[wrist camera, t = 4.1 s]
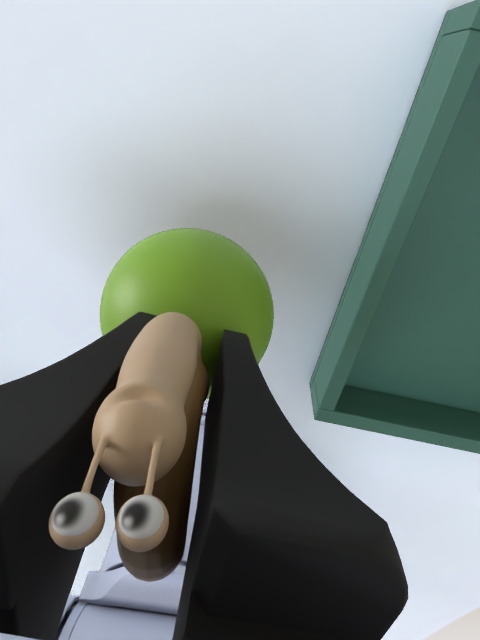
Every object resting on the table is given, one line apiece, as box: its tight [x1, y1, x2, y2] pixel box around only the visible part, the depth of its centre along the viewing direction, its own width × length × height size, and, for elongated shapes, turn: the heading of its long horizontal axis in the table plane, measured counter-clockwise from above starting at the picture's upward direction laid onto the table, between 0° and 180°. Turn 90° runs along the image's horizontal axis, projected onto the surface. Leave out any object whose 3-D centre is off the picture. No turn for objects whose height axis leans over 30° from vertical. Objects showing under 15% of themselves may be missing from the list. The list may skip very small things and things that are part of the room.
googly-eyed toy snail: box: [49, 228, 274, 582], centre depth 11 cm, size 5×6×12 cm
